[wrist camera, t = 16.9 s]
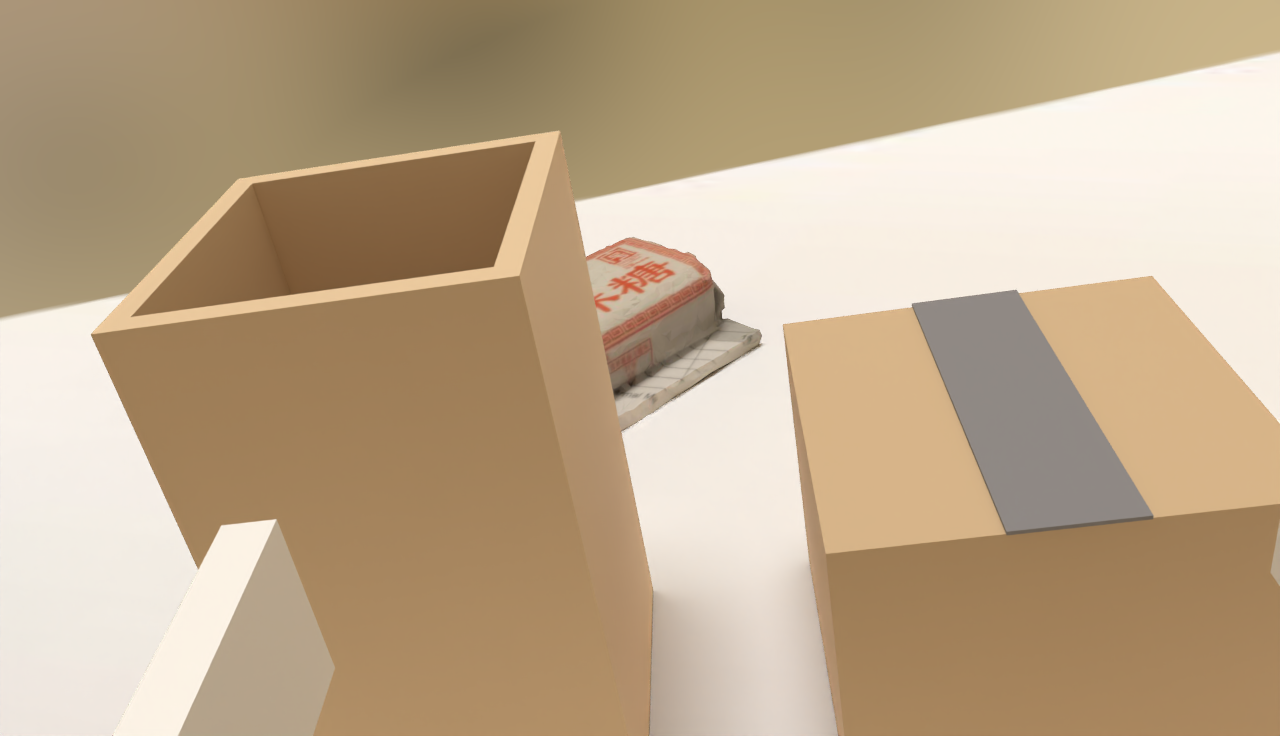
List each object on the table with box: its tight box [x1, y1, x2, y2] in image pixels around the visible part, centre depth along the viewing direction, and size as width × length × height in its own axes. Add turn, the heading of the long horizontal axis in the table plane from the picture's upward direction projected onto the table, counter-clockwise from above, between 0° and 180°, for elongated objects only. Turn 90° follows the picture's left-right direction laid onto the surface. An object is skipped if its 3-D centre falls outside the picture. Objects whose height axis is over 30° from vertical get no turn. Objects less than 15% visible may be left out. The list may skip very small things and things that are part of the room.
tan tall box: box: [91, 131, 653, 736], centre depth 30 cm, size 9×9×16 cm
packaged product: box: [586, 237, 762, 431], centre depth 49 cm, size 18×5×10 cm
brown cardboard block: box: [783, 276, 1280, 736], centre depth 30 cm, size 11×11×9 cm
